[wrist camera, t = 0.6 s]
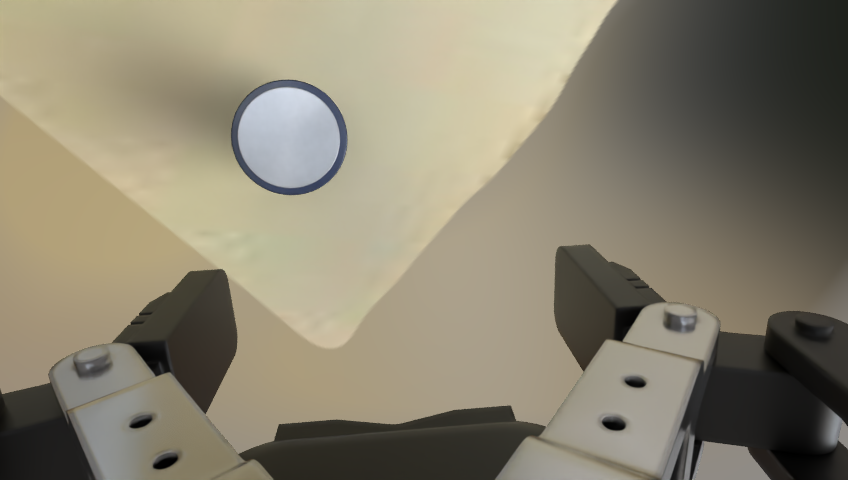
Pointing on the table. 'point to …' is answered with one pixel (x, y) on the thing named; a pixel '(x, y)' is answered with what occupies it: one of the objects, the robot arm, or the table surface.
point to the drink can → (289, 137)
